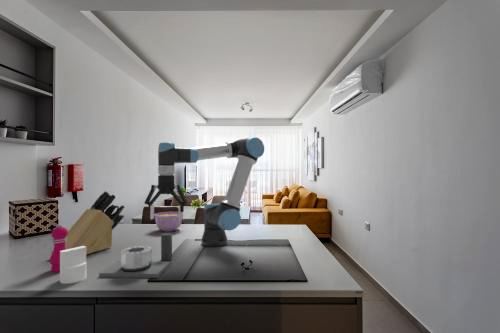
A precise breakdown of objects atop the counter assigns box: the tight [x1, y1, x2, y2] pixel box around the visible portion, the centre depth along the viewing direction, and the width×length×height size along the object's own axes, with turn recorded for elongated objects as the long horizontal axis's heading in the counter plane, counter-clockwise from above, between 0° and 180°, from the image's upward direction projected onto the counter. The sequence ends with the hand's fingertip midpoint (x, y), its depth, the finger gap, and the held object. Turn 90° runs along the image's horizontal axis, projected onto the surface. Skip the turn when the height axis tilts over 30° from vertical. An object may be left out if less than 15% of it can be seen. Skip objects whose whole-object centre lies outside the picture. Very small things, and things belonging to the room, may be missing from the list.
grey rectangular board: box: [98, 260, 171, 279], centre depth 122 cm, size 24×15×2 cm, turn 87°
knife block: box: [50, 190, 125, 255], centre depth 152 cm, size 11×35×31 cm, turn 155°
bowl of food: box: [154, 211, 184, 233], centre depth 201 cm, size 20×20×12 cm
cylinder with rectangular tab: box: [59, 246, 88, 285], centre depth 113 cm, size 9×9×12 cm
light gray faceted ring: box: [120, 245, 153, 272], centre depth 122 cm, size 12×12×8 cm
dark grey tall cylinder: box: [160, 232, 173, 262], centre depth 137 cm, size 5×5×12 cm
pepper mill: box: [49, 223, 69, 273], centre depth 124 cm, size 7×7×20 cm
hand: (166, 219), depth 137 cm, fingers open, 13 cm apart
